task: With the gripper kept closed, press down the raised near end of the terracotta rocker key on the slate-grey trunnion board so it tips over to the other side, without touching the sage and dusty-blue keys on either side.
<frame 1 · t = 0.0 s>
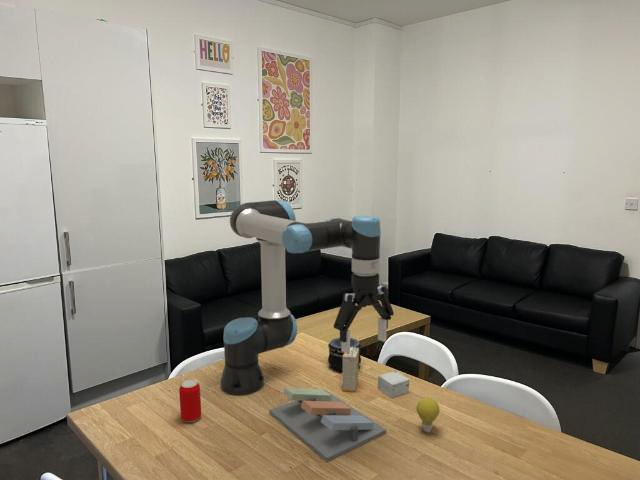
hand: (364, 346, 134), 28 cm above the table, fingers open, 13 cm apart
board: (325, 423, 146), on the table
supplement box: (350, 386, 169), on the table
light bulb: (427, 430, 143), on the table
rocker terracotta: (326, 408, 146), point 5 cm above the table, hinge at -20.0°
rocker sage: (307, 395, 153), point 5 cm above the table, hinge at -20.0°
container: (344, 367, 184), on the table
small box: (393, 391, 166), on the table
beverage can: (191, 419, 149), on the table
rocker blue: (347, 423, 138), point 5 cm above the table, hinge at -20.0°
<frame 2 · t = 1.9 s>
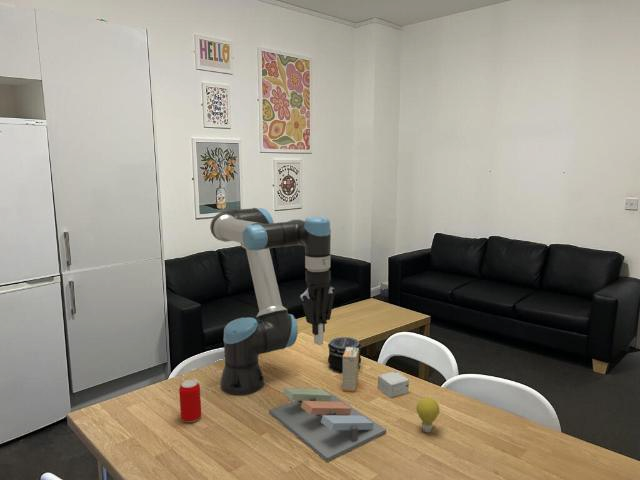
hand: (318, 343, 147), 24 cm above the table, fingers closed
nothing on the table moved.
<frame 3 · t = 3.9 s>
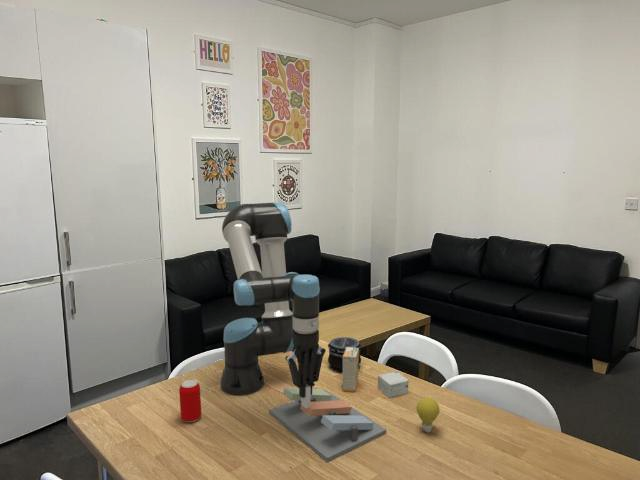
hand: (305, 405, 140), 8 cm above the table, fingers closed
rocker terracotta: (326, 408, 146), point 5 cm above the table, hinge at -16.1°, touching gripper
everything else where it was.
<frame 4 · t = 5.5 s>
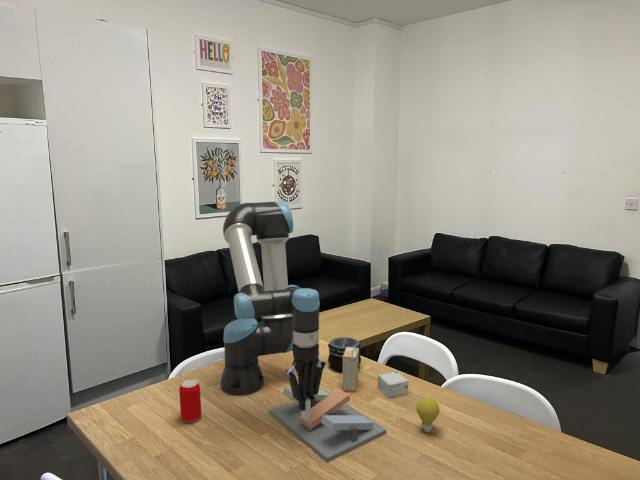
hand: (305, 418, 141), 4 cm above the table, fingers closed
rocker terracotta: (325, 409, 145), point 5 cm above the table, hinge at 16.2°, touching gripper
everything else where it was.
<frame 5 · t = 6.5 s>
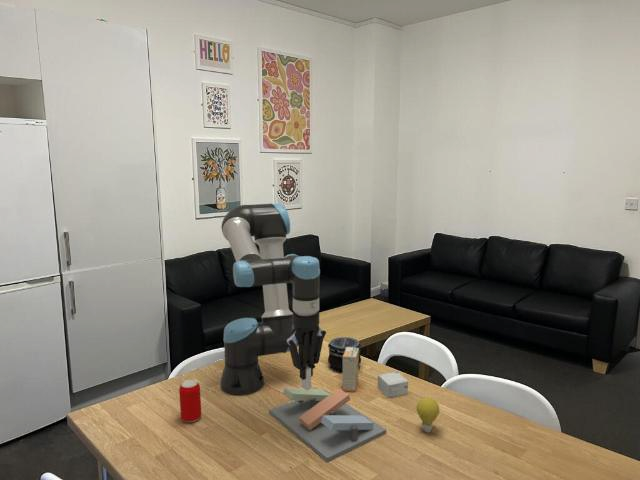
hand: (306, 387, 140), 14 cm above the table, fingers closed
rocker terracotta: (325, 409, 145), point 5 cm above the table, hinge at 16.3°
everything else where it was.
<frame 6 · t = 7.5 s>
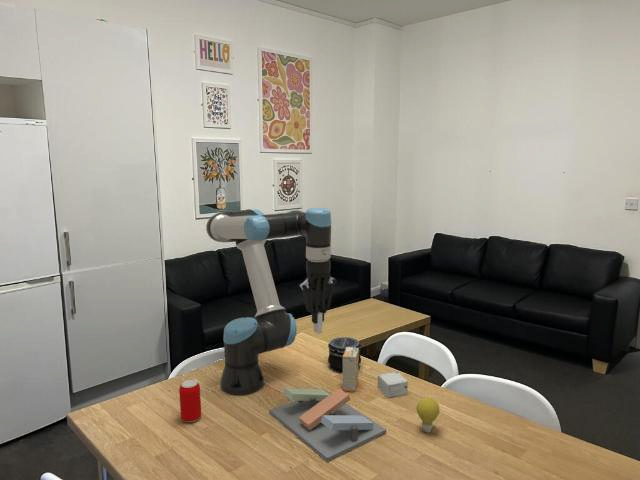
hand: (317, 331, 151), 26 cm above the table, fingers closed
nothing on the table moved.
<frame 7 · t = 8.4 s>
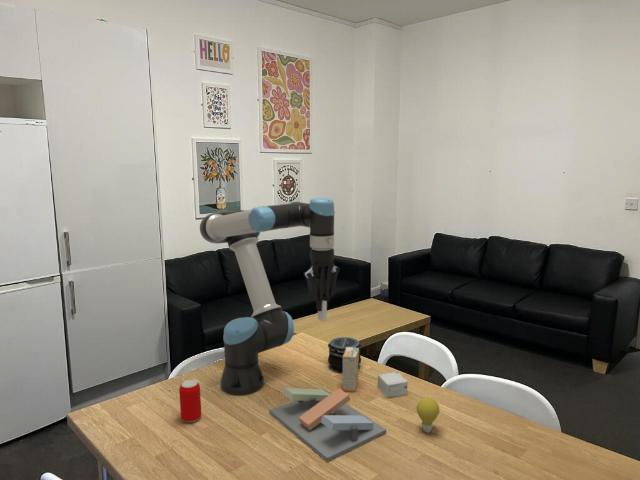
hand: (322, 319, 154), 28 cm above the table, fingers closed
nothing on the table moved.
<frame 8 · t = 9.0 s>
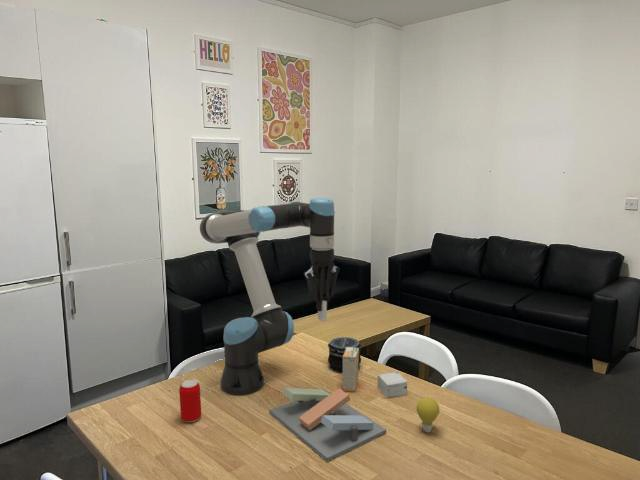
hand: (322, 319, 154), 28 cm above the table, fingers closed
nothing on the table moved.
at the end: rocker terracotta at +16° (first picture: -20°); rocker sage at -20° (first picture: -20°); rocker blue at -20° (first picture: -20°) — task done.
